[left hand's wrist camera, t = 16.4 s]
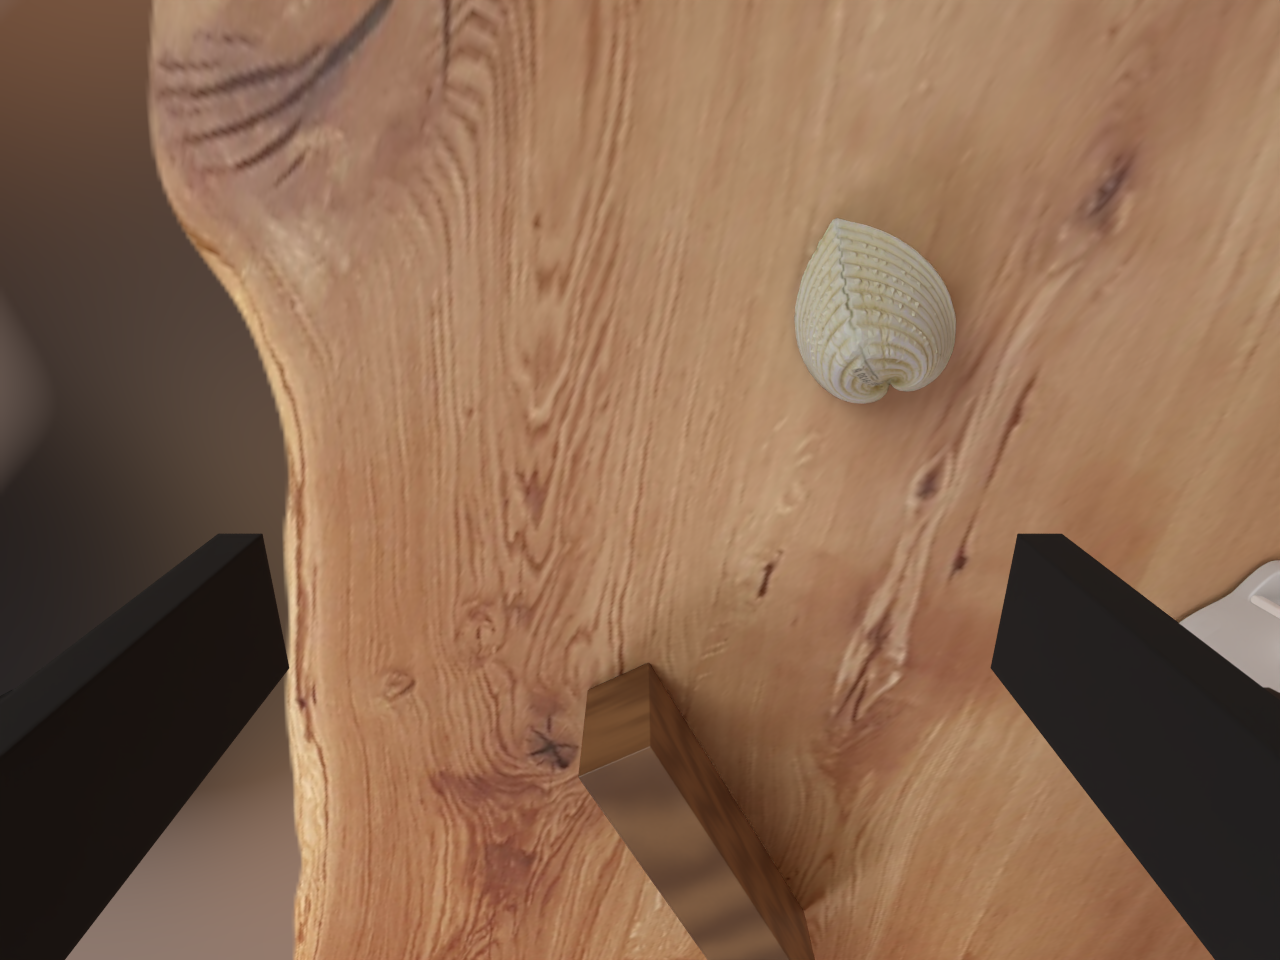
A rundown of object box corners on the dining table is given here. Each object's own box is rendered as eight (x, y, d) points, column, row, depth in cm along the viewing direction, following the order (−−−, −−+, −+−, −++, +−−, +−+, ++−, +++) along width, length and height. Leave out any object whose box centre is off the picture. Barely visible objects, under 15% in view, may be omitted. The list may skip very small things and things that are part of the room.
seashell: (821, 447, 40) (765, 360, 35) (815, 334, 45) (765, 241, 39) (977, 411, 36) (944, 307, 31) (954, 292, 41) (921, 181, 35)
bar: (587, 689, 49) (577, 777, 41) (648, 662, 48) (650, 746, 41) (749, 932, 57) (765, 1042, 49) (803, 911, 56) (829, 1020, 49)
